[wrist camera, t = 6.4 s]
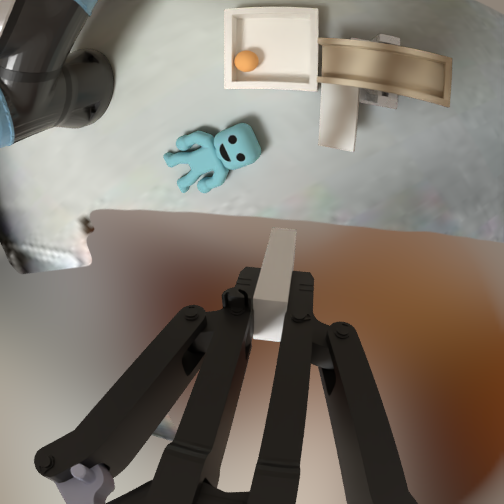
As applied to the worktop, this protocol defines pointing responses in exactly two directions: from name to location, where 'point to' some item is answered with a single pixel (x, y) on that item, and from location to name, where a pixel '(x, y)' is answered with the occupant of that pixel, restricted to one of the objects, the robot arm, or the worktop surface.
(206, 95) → the worktop surface
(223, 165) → the toy
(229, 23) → the dish
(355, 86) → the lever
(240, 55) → the ball
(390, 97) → the fulcrum
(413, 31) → the worktop surface
